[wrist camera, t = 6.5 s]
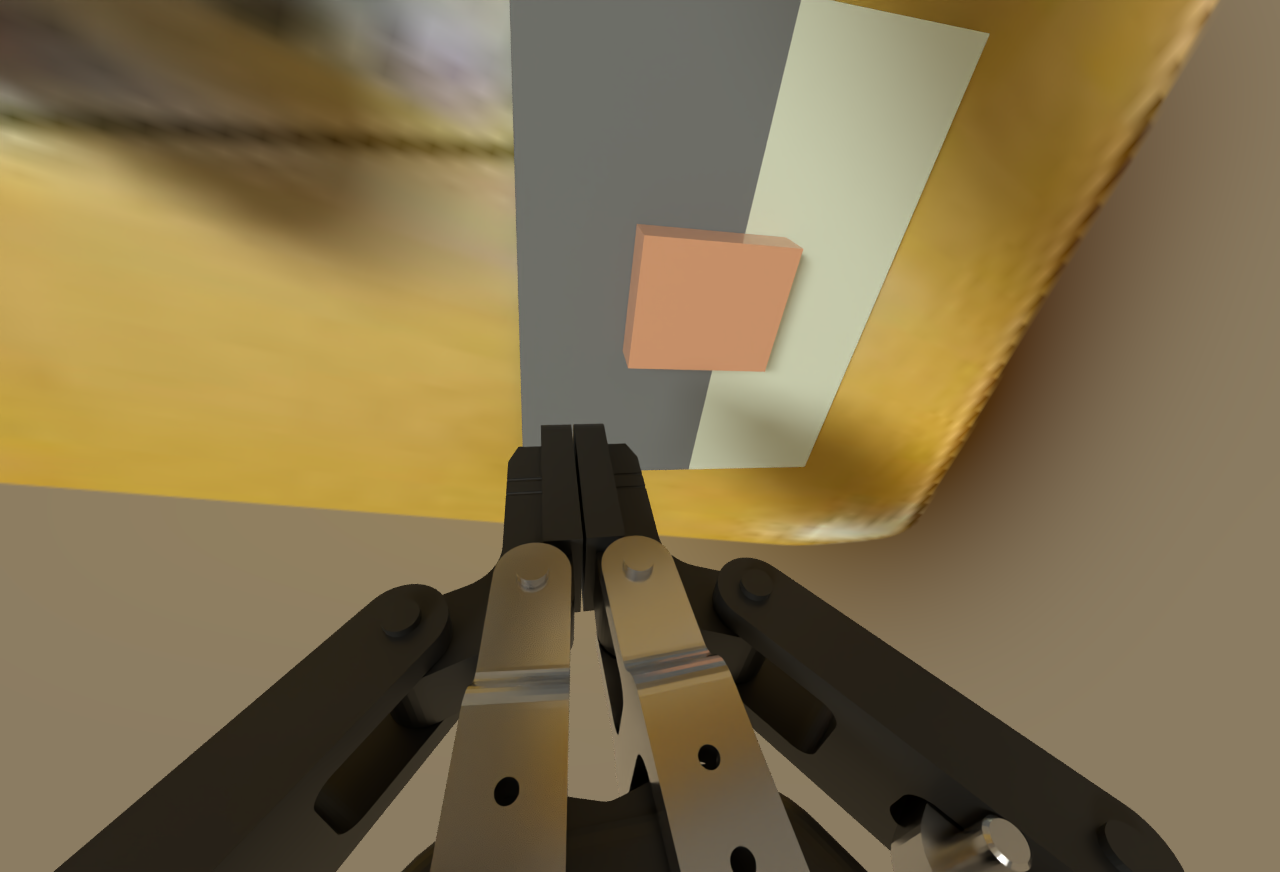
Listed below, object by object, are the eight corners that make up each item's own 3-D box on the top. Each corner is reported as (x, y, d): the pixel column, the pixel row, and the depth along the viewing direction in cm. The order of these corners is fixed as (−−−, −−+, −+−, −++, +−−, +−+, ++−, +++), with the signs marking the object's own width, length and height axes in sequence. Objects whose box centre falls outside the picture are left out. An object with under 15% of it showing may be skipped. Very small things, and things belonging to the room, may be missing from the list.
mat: (508, -64, 15) (507, -68, 15) (978, 34, 19) (990, 33, 18) (523, 465, 28) (523, 472, 28) (800, 460, 32) (804, 466, 31)
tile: (644, 235, 19) (803, 248, 20) (636, 223, 20) (785, 236, 22) (627, 368, 22) (764, 371, 24) (622, 350, 24) (751, 354, 25)
